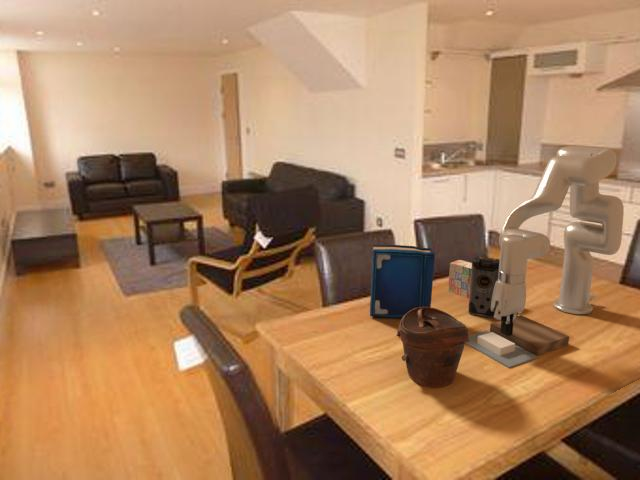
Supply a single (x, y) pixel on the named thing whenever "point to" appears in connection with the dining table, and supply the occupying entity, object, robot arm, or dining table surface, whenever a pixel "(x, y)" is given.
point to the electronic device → (482, 285)
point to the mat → (506, 359)
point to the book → (400, 279)
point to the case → (432, 345)
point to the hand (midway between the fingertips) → (506, 333)
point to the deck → (532, 336)
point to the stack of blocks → (460, 278)
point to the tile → (496, 343)
